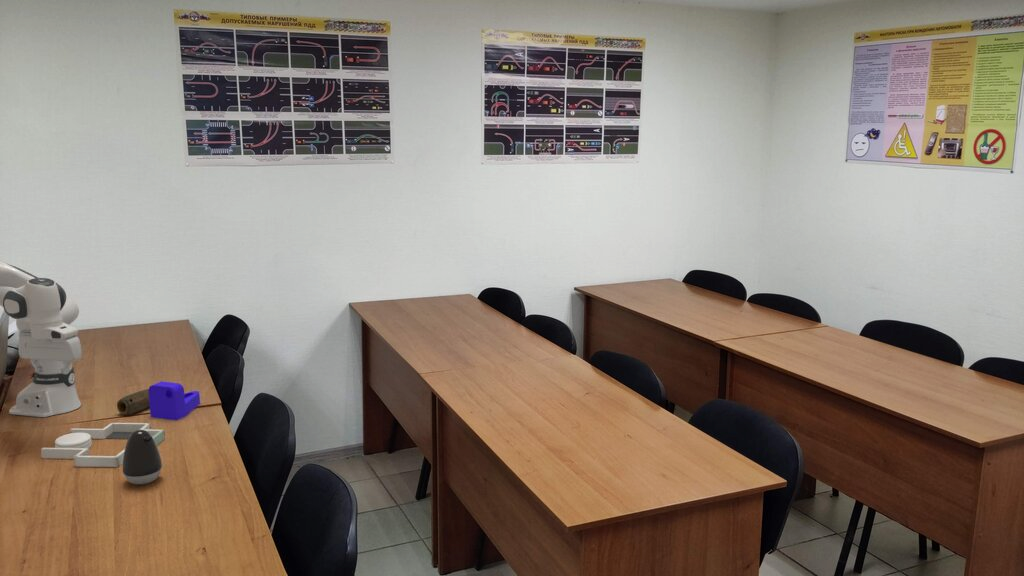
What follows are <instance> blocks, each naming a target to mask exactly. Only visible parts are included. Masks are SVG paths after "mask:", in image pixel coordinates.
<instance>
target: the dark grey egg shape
mask: <svg viewBox="0 0 1024 576" xmlns="http://www.w3.org/2000/svg"><path fill="white" fill-rule="evenodd" d="M124 447H125V448H124V449H125V451H124V456H123V463H122V467H121V468H122V473H123V475H124V477H125V479H126V480H127V481H128V483H130V484H133V485H147V484H150V483H152V482H153V481H155V480H156V479H157V478H158V477H159V476H160V473H161V472H162V471H161V470H162V467H163V463H162V462H163V461H162V457H161V453H160V451H159V448H158V445H156V443H155V441H154V439H153V437H152V436H151V435H150V434H149V433H148V432H147V431H145V430H137V431H134V432H133V433H132V434H131V435H130V437H129V439H127V442H126V444H125V446H124Z"/></svg>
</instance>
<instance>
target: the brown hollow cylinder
mask: <svg viewBox="0 0 1024 576" xmlns="http://www.w3.org/2000/svg"><path fill="white" fill-rule="evenodd" d="M148 390H149V388H148V389H142V390H140V391H136V392H133V393H131V394H127V395H125V396H123V397H122V398H120V399H119V400H118V401H117V402H116V409H117V411H118V412H119V413H120V414H122V415H123V416H128V415H131V414H135V413H138V412H140V411H143V410H145V409H148V408H150V403H149V391H148Z"/></svg>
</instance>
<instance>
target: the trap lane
mask: <svg viewBox="0 0 1024 576" xmlns="http://www.w3.org/2000/svg"><path fill="white" fill-rule="evenodd" d="M137 430H145V431H147V432H148V433H149V434H150V435H151V436H152V437H153V439H154V441H155V443H156V445H157V446H158V445H159V444H161V442H162V441H164V440H165V439H166V436H165V435H166V434H165V429H152V423H150V422H149V423H147V422H110V423H108V424H107V425H106V426H104V428H77V427H76V428H73V427H71V429H70V434H71V433H87V434H89V435H90V436H91V440H92V439H95V440H98V439H99V440H100V439H101V440H128V439H129V437H130V435H131V434H132V433H133V432H134V431H137ZM89 449H90V448H56V447H41V448H40V452H41V459H55V460H56V459H59V460H60V459H62V460H63V459H64V460H65V459H66V460H70V459H71V460H73V465H74V467H77V468H78V467H81V468H82V467H85V468H87V467H88V468H90V467H92V468H93V467H94V468H96V467H97V468H119V467H120V466H121V465H123V456H124V451H125V448H124V449H123V450H122V451H120V452H118V453H117V454H116V455H90V450H89Z"/></svg>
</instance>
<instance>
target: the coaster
mask: <svg viewBox="0 0 1024 576" xmlns="http://www.w3.org/2000/svg"><path fill="white" fill-rule="evenodd" d="M54 444H55V445H54V448H89V449H90V448H91V447H92V445H93V443H92V439H91V436H90V435H89V434H87V433H71V432H70V433H66V434H64V435H60V436H59V437H57V438H56V439H55V441H54Z"/></svg>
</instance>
